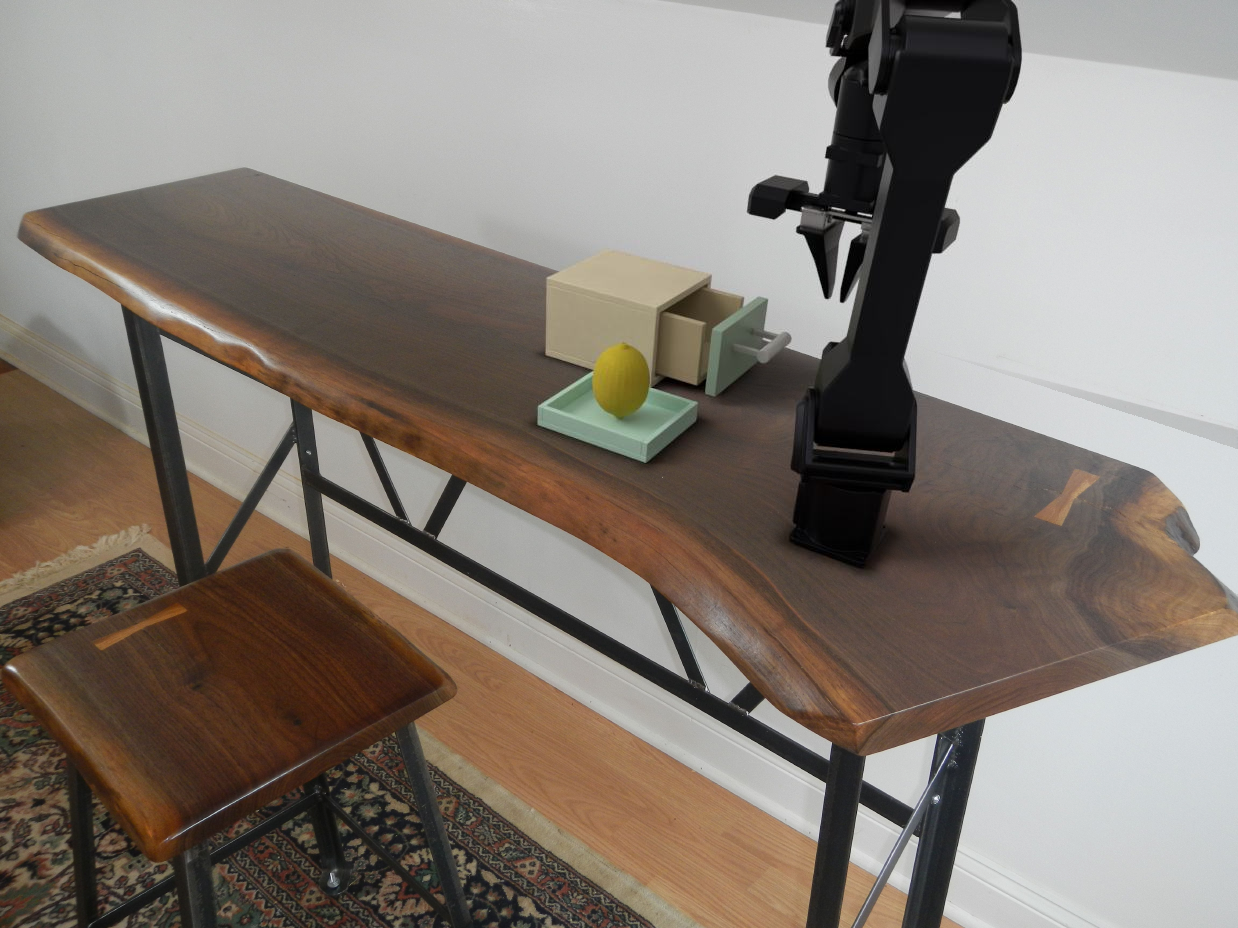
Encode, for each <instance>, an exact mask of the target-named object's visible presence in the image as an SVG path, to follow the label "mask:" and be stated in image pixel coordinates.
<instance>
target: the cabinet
mask: <svg viewBox="0 0 1238 928" xmlns="http://www.w3.org/2000/svg"><path fill="white" fill-rule="evenodd" d="M712 278H713V274H711V273H708V272H704V271H700V270H697V269H692V268H687V267H684V266H680V265H676V264H672V263H668V262H664V261H659V260H655V259H651V258H648V257H643V256H640V255H635V254H631V253H627V252H623V251H619V250H615V249H610V248H607V249H604V250H603V251H601V252H598V253H596V254H594V255H592V256H590V257H587V258H585V259H583V260H581V261H579V262H577V263H575V264H572V265H571V266H568V267H567V268H564V269H561V270H559V271H558V272H556V273H553V274H552V275H549V276H547V277H546V301H545V304H546V305H545V309H546V310H545V356H547V357H550V358H553V359H557V360H560V361H564V362H566V363H570V364H573V365H576V366H580V367H582V368H586V369H589V370H592V371H594V368H595V365H596V362H597V360H598V358H599V357H600V355H601V354H602V353H603V352H604V351H605V350H606V349H608V348H610V347H612V346H614V345H619V344H620V343H622V342H624V343H627V344H628V345H629V346H632V347H634V348H636V349H637V350H638V351H639V352H641V353H642V355H643V356H644V357H645V359H646V361H647V364H648V368H649V373H650V386H649V387H650V388H653V387H654V386H655V385H657V384H659V383H660V382H661V381H662V380H664V379H665V378H666V377H667V376H664V375H661V374H657V373H655V368H656V355H657V343H658V330H659V318H660V312H662V311H663V310H665V309H667V308H668V307H670V306H671V305H673V304H675V303H676V302H678V301H680V300H681V299H683V298H685V297H686V296H688V295H689V294H691V293H693V292H694V291H696V290H698V289H699V288H701V287H702V286H703V287H707V288H711V287H712ZM711 289H712V288H711Z"/></svg>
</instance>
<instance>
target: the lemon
mask: <svg viewBox="0 0 1238 928" xmlns="http://www.w3.org/2000/svg"><path fill="white" fill-rule="evenodd" d="M593 371H594V372H593V378H592V385H593V393H594V397H595V399H596V401H597V403H598V404H599V406H600V407H601V408H602V409H603V410H604V411H606V412H608V413H609V414H612V415H614V416H615V417H616V418H617V419H621V418H623V417H624V416H625V415H629V414H632V413H634V412H635V411H637V410H638V409H639V408H640V407H641V406H642V405H643V403H644V402H645V400H646V398H647V396H648V392H649V386H650V373H649V368H648V364H647V361H646V359H645V357H644V356H643V355H642V353H641V352H639V351H638V350H637V349H636V348H634V347H632V346H629V345H628V344H627V343H624V342H622V343H620V344H619V345H614V346H612V347H610V348H608V349H606V350H605V351H604V352H603V353H602V354H601V355H600V357H599V358H598V360H597V362H596V365H595V368H594V370H593Z"/></svg>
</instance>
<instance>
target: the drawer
mask: <svg viewBox="0 0 1238 928" xmlns="http://www.w3.org/2000/svg"><path fill="white" fill-rule="evenodd" d="M744 304H745V297H744V296H743V295H739V294H734V293H730V292H726V291H723V290H719V289H715V288H707V287H703V286H702V287H701V288H699V289H698V290H696V291H694V292H693V293H691V294H689V295H688V296H686V297H685V298H683V299H681V300H680V301H678V302H676V303H675V304H673V305H671V306H670V307H668V308H667V309H665V310H663V311H662V312H660V318H659V330H658V343H657V355H656V368H655V373H657V374H661V375H664V376H666V377H667V378H671V379H674V380H678V381H680V382H684V383H687V384H691V385H693V386H698V385H700V384H701V383H702V382H703V381H705V380H706V382H705V392H704V394H705V395H708V396H710V397H713V398H715V397H716V396H718V395H719V394H720V393H722V392H723V391H724V390H726V388H728V387H729V386H730V385H731V384H733V383H734V382H735V381H737V380H738V379H739V378H740V377H741V376H742V375H744V373H746V372H747V371H748V370H750V369H751V368H752V367H754V365H756V364H757V363H758V362H759V363H760V364H767V363H768V362H770V361H771V360H772V359H773V358H774V357H775V356H777V355H778V354H779V353H780V352H781V351H782V350H784V349H785V348H786V347H787V346H788V345H790V344H791V342H792V341H793V340H792V338H793V337H792V335H791V334H790V333H789V332H787V331H782V332H780V333H779V334H778V333H775V332H771V331H767V330H765V325H766V319H767V312H768V304H769V298H767V297H764V296H763V297H762V296H757V297H755V298H754V299H752V300H751V301H749V302H748V303H747V304H745V305H744ZM763 339H766V340H769V342H768V343H767V344H766V345H765V346H763Z"/></svg>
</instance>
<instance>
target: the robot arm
mask: <svg viewBox="0 0 1238 928" xmlns="http://www.w3.org/2000/svg"><path fill="white" fill-rule="evenodd" d="M954 13H956V14H959V13H960V14H959V16H960V17H947V16H949V15H951V14H954ZM831 14H832V15H831V17H830V20H829V25H828V28H827V31H826V37H825V48H828V49H829V51H828V53H829V55H830V57H835V58H837V57H838V58H839V59H837V60H836V62H835V63H834V64H833V66H832V68H831V70H830V72H829V75H828V78H827V89H828V94H829V96H830V98H831V100H832V102H833V104H834V106H835V109H836V111H835V117H834V121H833V122H834V123H833V128H832V129H833V130H832V133H831V134H832V135H831V141H830V144H829V145H827V146H826V149H825V154H824V159H826V160H827V166H826V172H825V178H824V183H823V190H822V191H821V192H819V193H814V192H810V186H809V182H808V180H804V179H799V178H793V177H788V176H783V175H779V174H774V175H772V176H771V177H768V178H766V179H764V180H762V181H759V182H758V183H756V184H755V185H754V186H753V187H751V190H750V192H749V194H748V199H747V209H746V213H747V214H748V215H750V216H754V217H759V218H764V219H768V220H773V221H775V220H777V219H778V218H780V217H781V216H782V215H784V214H785V213H786V211H787V210H788V211H794V212H798V213H801V214H800V215H801V216H800V222H799V225H797V226H796V227H795V233H796V234H798V235H802V236H803V237H804V239H805V242H806V244H807V246H808V249H809V251H810V254H811V257H812V259H813V261H814V266H815V268H816V272H817V276H818V280H819V283H820V288H821V291H822V295H823V298H824V299H825V300H830V299H831V298H833V297H832V296H833V294H834V293H833V292H834V288H835V284H836V278H837V268H838V259H839V247H840V239H841V237H842V234H843V230H844V227H845V224H846V223H850V224H851V223H852V224H856V225H860V230H861V233H859V234H858V235H857V236H854V238H851V240H850V243H849V247H848V252H847V256H846V262H845V266H844V270H843V275H842V280H841V285H840V290H839V303H841V304H845V303H846V302H847V301H848V299H849V297H850V295H851V293H852V292H853V291H854V288H855V287H856V285H857V287H856V292H855V295H854V301H853V305H852V309H851V315H850V319H849V323H848V327H847V328H848V329H847V332H846V336H845V337H844V338H843V339H841V340H840V342H839V341H828V342H827V344H826V345H825V346H824V348H823V349H822V352H821V358H820V361H819V364H818V367H817V372H816V376H815V380H814V384H813V386H807V388H806V390H805V394H804V395H803V397H802V399H801V401H800V402H798V403H797V404H796V409H795V419H794V420H795V423H794V432H793V433H794V434H793V445H792V453H791V458H790V459H791V460H790V464H789V466H790V470H791V471H792V472H795V473H796V474H797V475H799V476H800V480H799V481H798V485H797V492H796V498H795V503H794V508H793V513H792V514H793V515H792V520H791V521H792V523H793V525H796V526H795V527H794V528H793V529H792V530H791V532H790V533H789V536H788V541H789V542H790V543H792V544H796V545H798V546H801V547H804V548H807V549H809V550H812V551H814V552H817V553H820V554H822V555H826V556H828V557H831V558H834V559H836V560H838V561H842V562H845V563H848V564H850V565H853V566H856V567H859V568H864V567H865V566H866V565H868V562H869V561H870V559H871V558H872V556H873V555H874V553H875V552H876V550H877V549H878V547H879V545H880V544H881V542H882V541H883V540H884V538H885V537H886V535H887V533H888V530H889V527H888V525H887V524H886V523H885V522H886V517H887V513H888V509H889V505H890V500H891V497H892V496H891V495H892V492H893V491H898V492H901V493H905V494H906V493H907V494H909V493H910V491H911V488H912V486H913V483H914V481H915V479H916V468H917V467H916V465H917V432H918V431H917V429H918V428H917V427H918V401H917V398H916V396H915V391H914V388H913V382H912V378H911V374H910V370H909V367H908V364H907V361H906V359H905V356H906V352H907V349H908V344H909V341H910V339H911V335H912V334H911V333H912V330H913V326H914V323H915V319H916V315H917V312H918V309H919V305H920V301H921V297H922V293H923V289H924V286H925V284H926V283H925V282H926V279H927V274H928V272H929V267H930V264H931V260H932V257H933V255H935V254H936V255H937V254H938V255H939V254H943V253H944V252H945V251H946V250H947V249H948V248H949V247H950V246H951V245H952V244H953V243H954V242H955V241H956V240H957V237H958V233H959V229H960V228H959V227H960V224H961V217H960V215H959V213H958V211H957V210H956V208H955V209H954V208H951V207H950V208H949V207H946V205H947V201H948V197H949V194H950V190H951V187H952V186H951V185H952V184H953V183H952V182H953V179H954V176H955V174H956V173H958V171H959V170H961V169H962V168H963V167H964V166H965V165H966V164H968V162H969V161H970V160H971V159H972V158H973V157H974V156H975V155H976V154H977V153H979V151H980V150H981V149H982V148H983V147H985V145H986V144H987V143H989V142H990V140H991V139H992V137H993V135H994V132H995V128H996V125H997V123H998V120H999V117H1000V114H1001V111H1002V108H1003V105H1007V103H1009V102H1010V101H1011V99H1012V98H1013V95H1014V94H1015V91H1016V88H1017V86H1018V83H1019V79H1020V74H1021V70H1022V69H1021V68H1022V62H1023V48H1022V38H1021V30H1020V29H1021V28H1020V20H1019V10H1018V7H1017V5H1016V3H1015V2H1013V0H838V1H837V2H835V4H834V7H833V10H832V13H831ZM814 444H815V445H816V446H817V447H823V448H824V447H825V448H832V449H834V448H835V449H844V450H845V449H846V450H854V451H855V450H856V451H864V452H865V451H866V452H876V453H888V454H893V455H894V456H893V455H883V454H882V455H881V454H873V453H861V452H851V451H839V450H829V449H820V448H814Z"/></svg>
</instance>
